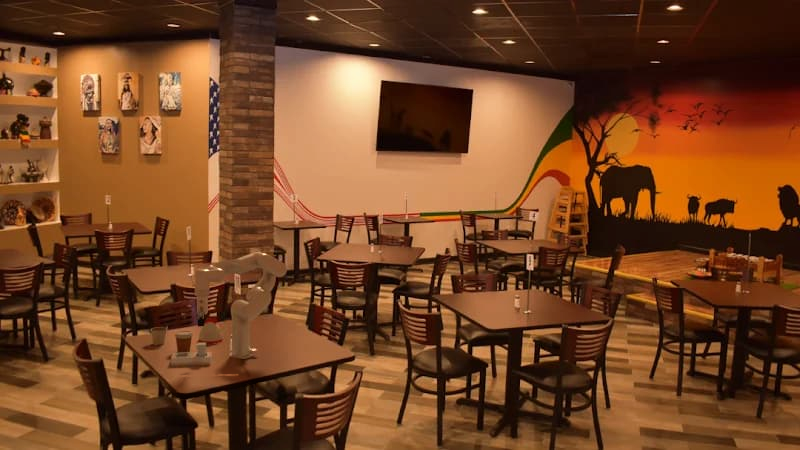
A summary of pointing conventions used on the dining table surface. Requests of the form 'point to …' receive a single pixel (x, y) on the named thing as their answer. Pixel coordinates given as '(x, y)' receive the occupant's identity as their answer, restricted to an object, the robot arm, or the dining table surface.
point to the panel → (190, 359)
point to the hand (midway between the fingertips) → (201, 323)
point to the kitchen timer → (210, 332)
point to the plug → (201, 349)
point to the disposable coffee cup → (183, 340)
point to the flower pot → (158, 335)
